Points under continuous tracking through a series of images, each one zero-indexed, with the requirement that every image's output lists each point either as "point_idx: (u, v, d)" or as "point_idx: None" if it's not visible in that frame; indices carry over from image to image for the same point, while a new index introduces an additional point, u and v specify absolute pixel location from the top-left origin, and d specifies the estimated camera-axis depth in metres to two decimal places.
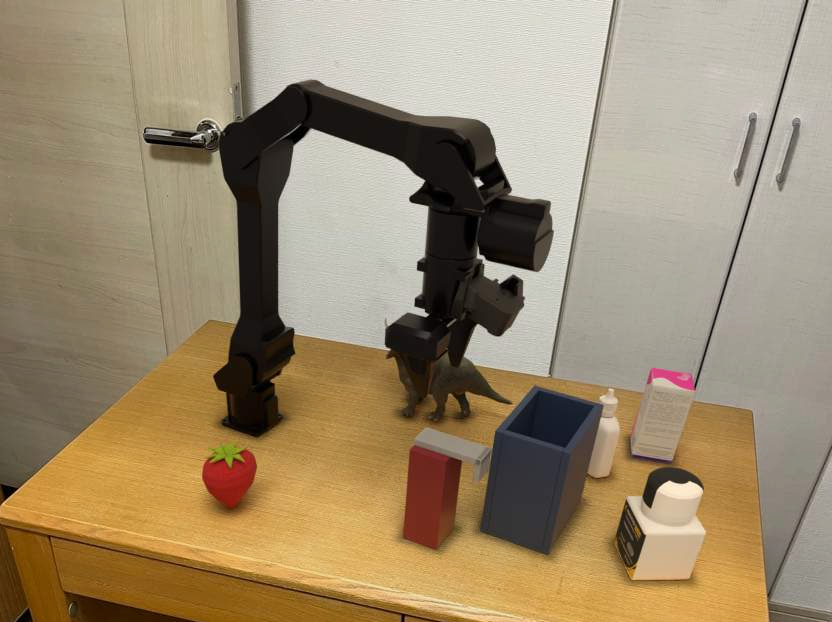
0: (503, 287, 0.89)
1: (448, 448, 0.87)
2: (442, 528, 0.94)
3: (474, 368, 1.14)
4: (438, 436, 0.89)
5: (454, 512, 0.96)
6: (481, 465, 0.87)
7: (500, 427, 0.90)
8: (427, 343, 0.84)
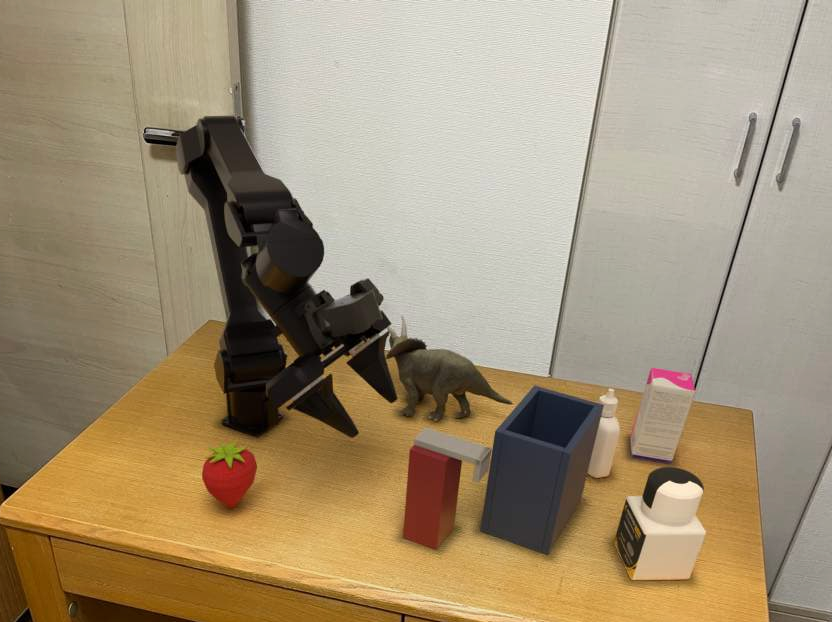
0: (352, 294, 0.86)
1: (448, 448, 0.87)
2: (442, 528, 0.94)
3: (474, 368, 1.14)
4: (438, 436, 0.89)
5: (454, 512, 0.96)
6: (481, 465, 0.87)
7: (500, 427, 0.90)
8: (292, 375, 0.81)
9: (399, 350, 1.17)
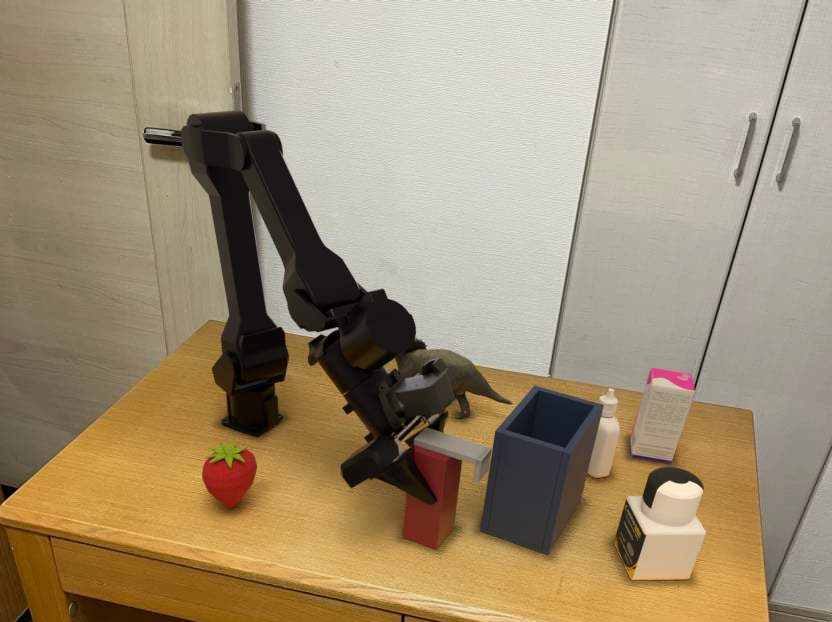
0: (424, 374, 0.88)
1: (448, 448, 0.87)
2: (442, 528, 0.94)
3: (474, 368, 1.14)
4: (438, 436, 0.89)
5: (454, 512, 0.96)
6: (481, 465, 0.87)
7: (500, 427, 0.90)
8: (370, 458, 0.83)
9: None
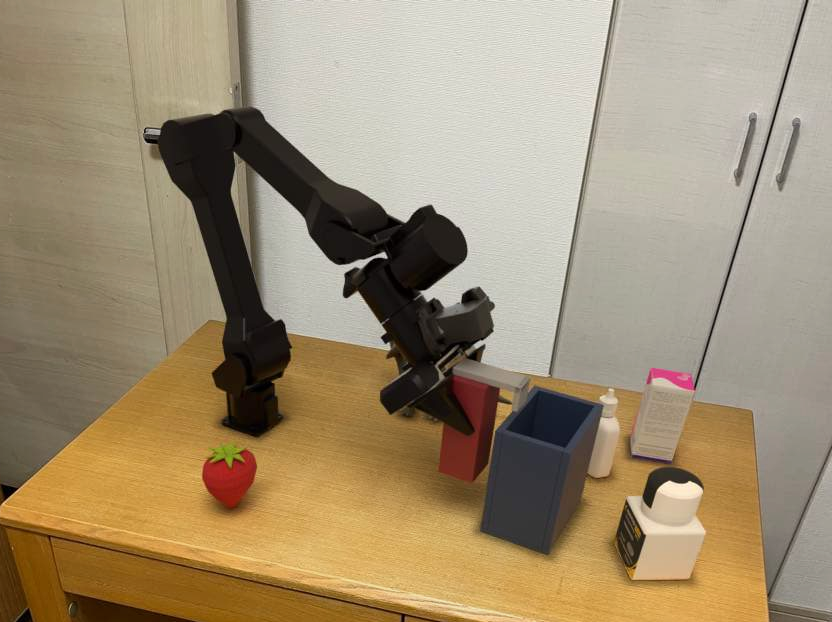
0: (464, 302, 0.88)
1: (487, 376, 0.87)
2: (478, 461, 0.94)
3: None
4: (477, 366, 0.89)
5: (489, 447, 0.96)
6: (521, 393, 0.87)
7: (500, 427, 0.90)
8: (411, 382, 0.83)
9: None
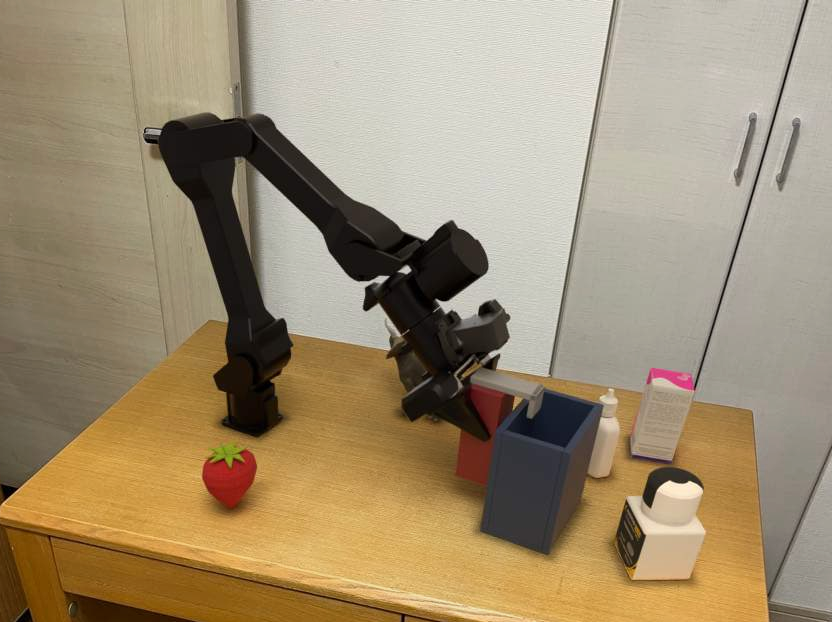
0: (481, 314, 0.92)
1: (504, 385, 0.91)
2: None
3: None
4: (493, 375, 0.93)
5: None
6: (536, 401, 0.91)
7: (500, 427, 0.90)
8: (432, 391, 0.87)
9: (399, 350, 1.17)
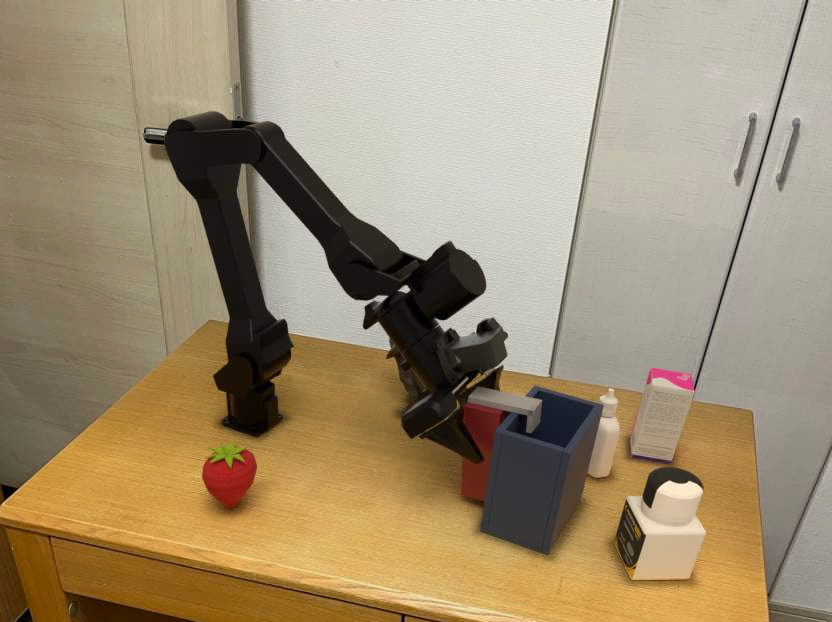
0: (479, 332, 0.93)
1: (501, 402, 0.93)
2: None
3: None
4: (490, 393, 0.95)
5: None
6: (534, 416, 0.92)
7: (500, 427, 0.90)
8: (431, 409, 0.88)
9: None
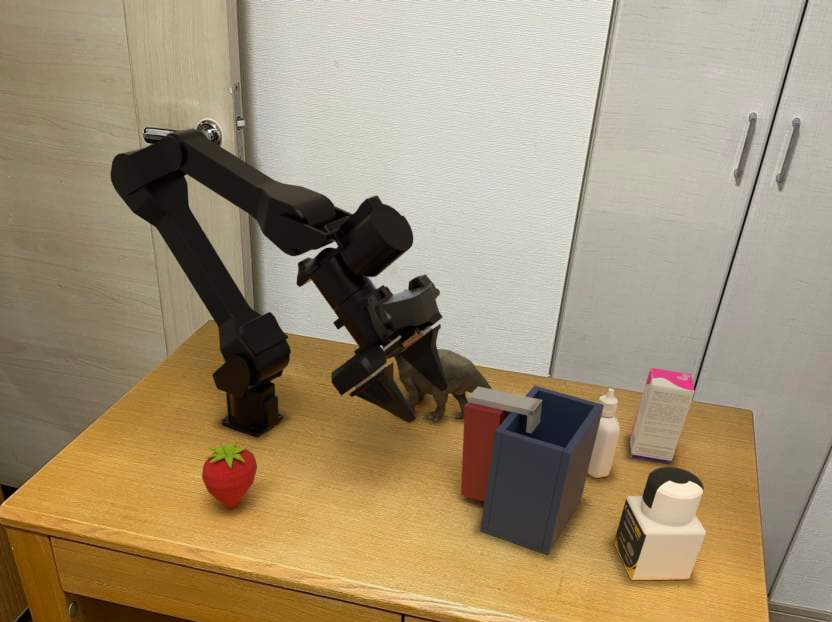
0: (411, 289, 0.93)
1: (501, 402, 0.93)
2: None
3: (474, 368, 1.14)
4: (490, 393, 0.95)
5: None
6: (534, 416, 0.92)
7: (500, 427, 0.90)
8: (359, 363, 0.88)
9: (399, 350, 1.17)
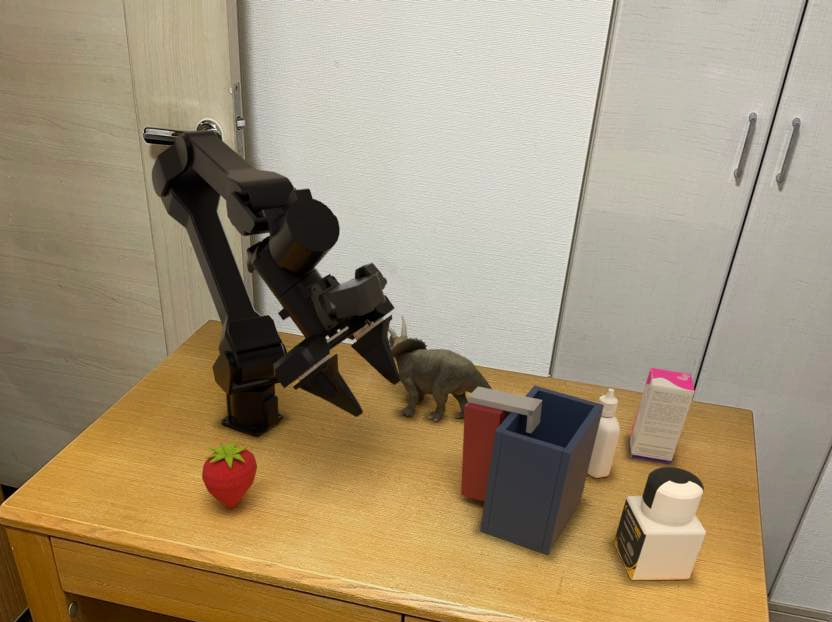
0: (357, 278, 0.90)
1: (501, 402, 0.93)
2: None
3: (474, 368, 1.14)
4: (490, 393, 0.95)
5: None
6: (534, 416, 0.92)
7: (500, 427, 0.90)
8: (299, 354, 0.85)
9: (399, 350, 1.17)
